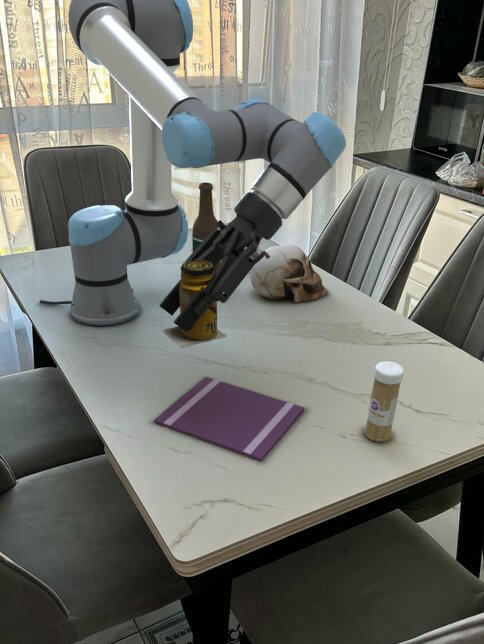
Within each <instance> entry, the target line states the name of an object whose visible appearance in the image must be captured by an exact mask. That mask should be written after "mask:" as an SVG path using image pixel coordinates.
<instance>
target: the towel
mask: <svg viewBox="0 0 484 644" xmlns="http://www.w3.org/2000/svg"><path fill="white" fill-rule="evenodd" d="M304 411H305V407H304V406H301V405H299V404H298V405H297V404H295V403H293V402H290V401H285V400H281V399H279V398H276V397H272V396H269V395H266V394H262V393H259V392H256V391H254V390H250V389H246V388H244V387H240V386H238V385H234V384H231V383H228V382H225V381H221V380H220V379H216V378H212V377H208V376H205V377H203V378H202V379H201V380H200V381H198V382H197V383H196V384H195V385H194V386H193V387H192V388H191V389H189V390H188V391H187V392H186V393H185V394H183V395H182V396H181V397H180V398H178V399H177V400H176V401H175V402H174V403H173V404H171V405H170V406H169V407H168V408H166V409H165V410H164V411H163V412H162V413H160V414H159V415H158V416H157V417H156V418H154V420H153V423H155V424H157V425H160V426H163V427H165V428H168V429H171V430H173V431H174V430H175V431H177V432H179V433H182V434H184V435H188V436H190V437H193V438H196V439H198V440H201V441H203V442H207V443H210V444H212V445H214V446H218V447H220V448H224V449H226V450H229V451H231V452H234V453H237V454H240V455H243V456H245V457H249V458H251V459H254V460H257V461H260V462H262V461H263V460H264V458H265V457H266V456H267V455H268V454H269V453H270V451H271V450H272V449H273V448H274V447H275V446H276V445H277V443H278V442H279V441H280V440H281V439H282V437H283V436H284V435H285V434H286V433H287V432H288V431H289V429H290V428H291V427H292V426H293V424H295V422H296V421H297V420H298V418H300V416H301V415H302V414H303V412H304Z"/></svg>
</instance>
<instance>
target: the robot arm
mask: <svg viewBox="0 0 484 644" xmlns="http://www.w3.org/2000/svg"><path fill="white" fill-rule="evenodd" d="M67 17H68V27H69V31H70V35H71V37H72V40H73V42H74V43H75V45H76V47H77V48H78V50H79V51H80V52H81V53H82V55H84V56H85V57H86V59H87V60H89V62H91V63H92V64H94V65H97V66H101V67H103V69H105V71H106V72H107V73H108V74H109V75H110V77H112V78H113V79H114V80H115V81H116V82H117V84H119V86H120V87H121V88H122V89H123V90H124V91H125V92H126V93H127V94H128V101H129V104H128V105H129V135H130V136H129V137H130V167H131V192H130V193H128V195H126V197H125V210H122V209H121V208H120V207H119V206H116V205H111V204H104V205H99V204H98V205H93V206H89V207H86V208H85V207H84V208H83V209H80V210H78V211H76V212H75V213H73V214H72V215H71V217H69V220H68V223H67V227H68V242H69V246H70V253H71V254H70V255H71V260H72V261H71V262H72V268H73V275H74V281H75V282H74V283H75V284H74V288H73V293H72V300H61V301H50V300H42V299H40V300H39V304H44V305H50V306H51V305H52V306H58V305H59V306H60V305H70V313H71V317H72V318H73V319H74V320H75V321H76V322H78V323H79V324H84V325H87V326H95V327H105V326H106V327H107V326H115V325H119V324H123V323H125V322H128V321H131V320H132V319H134V318H135V317H136V316H137V315H138V313H139V302H138V299H137V298H136V296H135V294H134V293H135V291H134V289H133V287H132V286H131V283H130V281H129V276H128V266H129V265H134V264H138V263H142V262H147V261H153V260H157V259H164V258H168V257H169V256H173V255H175V254H178V253H179V252H180V251H181V250H183V248H184V247H185V245H186V243H187V240H188V235H189V221H188V219H186V217H187V214H186V212H185V210H184V208H183V206H181V205H180V204H179V200H178V199H177V198H176V197H177V196H175V195H174V194H173V193H172V165H173V166H174V167H176V168H178V169H189V168H190V169H191V168H192V169H201V168H204V167H211V166H217V165H223V164H229V163H238V162H244V161H252V160H259V159H262V160H264V161H265V162H268V163H269V164H268V165H267V166H266V167H265V169H264V170H263V171H262V172H261V173H260V174H259V175H258V177H257V178H256V180H254V182H253V183H252V185H251V186H250V190H251V191H246V192H245V193H244V194H243V196H242V197H240V199H239V200H238V201H237V202H236V203H235V204H234V206H233V210H234V213H235V214H236V216H235V217H234V218H233V219H232V220H231V221H229V222H228V223H224V222H223V220H221V219H220V220H217V221H218V222H217V223H216V225H215V226H214V228H213V230H212V231H211V232H210V234H209V235H208V236H207V237H206V238H205V239H204V240H203V242H202V243H201V244H200V245H199V246H198V247H197V248H196V249H195V251H194V252H193V251H192V252H191V254H190V255H189V256H188V257H187V258H186V260H185V261H184V262H186V261H190V260H205V261H209V262H211V263H212V264H213V265H214V266H215V265H216V264H217V263H219V262H220V264H219V266H218V268H217V270H216V271H215V273H214V275H213V276H212V278H211V280H210V281H209V283H208V285H207V287H206V288H205V287H201V290H200V291H199V292H198V293H197V294H196V295H195V297H194V298H193V299H192V300H191V301H190V303H189V304H188V305H187V306H186V307H185V309H184V310H183V311H182V312H181V313H180V312H179V314H178V315H177V317H176V318H175V319H174V320H173V324H174V325H176V327H178V326H179V327H180V328H181V329H183V330H184V331H185V332H188V331H189V330H190V329H191V327H192V326H193V325H194V324H195V323H196V321H197V320H198V319H199V318H200V317H201V316H202V315H203V314H204V313H205V312H206V310H207V309H208V308H209V307H210V306H211V304H212V303H213V302H217V303H218V302H220V303H221V304H225V303H226V302H227V301H228V300H229V298H231V296H232V295H233V294H234V292H235V291H236V289H237V288H238V287H239V286H240V284H241V283H242V282H243V280H244V279H245V278H246V277H247V275H248V274H249V273H250V272H251V269H252V268H253V266H254V265H255V264H256V263H257V262H259V261H260V260H261V259H262V258H263V257H264V255H265V253H264V252H263V251H264V250H262V249H261V248H260V244H261V242H262V240H266V241H269V240H271V239H272V238H273V237H274V236H275V234H276V233H277V232H278V231H279V229H281V227H282V226H283V220H288V219H289V217H290V216H291V215H292V214H293V212H294V211H295V210H296V209H297V208H298V206H299V205H301V203H302V202H303V201H304V200H305V198H306V197H307V196H308V194H309V193H310V192H311V191H312V190H313V188H315V186H316V185H317V184H318V183H319V182H320V180H322V178H324V176H325V175H326V174H327V173H328V172H329V171H330V170H331V169H332V168H333V167H334V164H335V163H336V162H337V160H338V158H340V156H341V155H342V154H343V152H344V151H345V149H346V147H347V139H346V137H345V134H344V133H343V131H342V130H341V128H340V127H339V126H338V124H337V123H336V122H335V121H334V120H332V118H330V117H328V115H326V114H324V113H322V112H319V111H318V112H315V111H314V112H311V113H310V114H309V116H308V117H306V118H304V120H303V122H302V121H300V120H297V119H295V118H293V117H291V116H290V115H288V114H286V113H285V112H283V111H281V110H279V109H278V108H276V107H275V106H274V105H273V104H271V103H269V102H266V101H262V100H260V99H257V98H249V99H246V100H245V101H244V102H242V103H241V104H239V105H238V106H237V107H236V109H226V110H212V109H211V108H209V107H208V106H207V104H205V103H204V102H203V101H202V100H201V99H200V98H199V96H198V95H196V94H195V93H194V91H192V90H191V89H190V87H188V86H187V85H186V83H184V82H183V81H182V80H181V78H180V77H178V76H177V74H176V73H175V71H177V69H178V68H179V67H180V66H181V54H183V53H185V52H186V51H187V50H189V48H190V46H191V43H192V42H193V37H194V19H193V14H192V9H191V7H190V4H189V1H188V0H70V3H69V7H68V15H67ZM180 280H181V278H180V279H179V280H178V281H177V283H176V284H175V285H174V286H173V288H172V289H171V290H170V291H169V293H168V294H167V295H166V296H165V297H164V298H163V300H162V301H161V302H160V303H159V305H158V306H159V308H161V309H162V310H164V311H165V312H166V313H168V314H169V315H170V316H174V315H175V313H176V312H177V311H178V310H179V309H180V296H179V282H180ZM213 288H214V289H213ZM202 291H203V292H204V293H203V292H202Z"/></svg>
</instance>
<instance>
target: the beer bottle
mask: <svg viewBox="0 0 484 644" xmlns="http://www.w3.org/2000/svg"><path fill="white" fill-rule="evenodd" d="M198 189H199V201H198V202H199V203H198V204H199V205H198V215H197V217H196V218H195V220H194V222H193V225H192V235H191V240H192V241H191V242H192V244H191V245H192V253H193V252H194V251H195V249H196V248H197V247H198V246H199V245H200V244H201V243H202V242H203V240H204V239H205V238H206V237H207V236H208V235H209V234H210V232H211V231H212V230H213V228H214V226H215V225H216V223H217V222H218V221H219V220H218V219H217V218H216V216H215V212H214V204H213V202H214V201H213V190H214V186H213V183H211V182H200V183H199V185H198ZM220 263H221V261H220V262H219V263H217V264H216V265H215V266H214V273H215V271H216V270H217V268H218V266H219V264H220Z"/></svg>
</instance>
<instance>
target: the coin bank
mask: <svg viewBox="0 0 484 644" xmlns="http://www.w3.org/2000/svg"><path fill="white" fill-rule="evenodd" d="M262 251H263V252H264V253H265V255H264V257H263V258H262V259H261V260H260V261H259V262H257V263H256V264H255V265H254V266H253V268H252V269H251V270H250V282H251V286H252V287H253V289H255V290H256V291H257V292H258V293H259V294H260V296H261V297H263V298H266V299H270V300H280V299H287V298H292V301H293V302H294V303H300V302H310V301H314V300H317V299H318V300H320V299H322V298H323V297H324V296H326V295H327V294H328V289H327V288H326V286H324V285H323V280H322V277H321V275H320V274H319V273H318V272H317V271H315V270H314V267H313V266H312V260H310V258H309V256H307V254H306V253H305V252H304V251H303V249H301V248H300V247H299V246H296V245H294V244H291V243H290V244H281V245H274V246H271V247H268V248H265V249H264V250H262Z"/></svg>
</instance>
